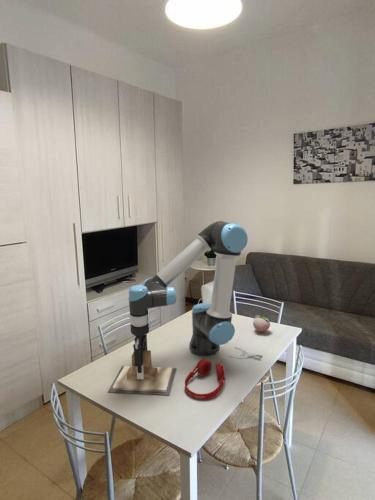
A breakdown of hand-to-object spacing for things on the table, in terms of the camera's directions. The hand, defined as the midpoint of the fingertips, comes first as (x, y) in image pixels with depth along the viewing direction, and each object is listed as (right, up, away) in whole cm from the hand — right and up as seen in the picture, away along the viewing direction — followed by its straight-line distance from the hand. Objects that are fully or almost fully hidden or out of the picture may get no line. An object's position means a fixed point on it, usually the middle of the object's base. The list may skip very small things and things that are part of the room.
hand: (142, 374), depth 139 cm
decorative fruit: (+60, +7, +42) cm, 74 cm away
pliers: (+47, +2, +19) cm, 51 cm away
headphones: (+27, -3, -4) cm, 27 cm away
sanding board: (+1, -3, +1) cm, 3 cm away
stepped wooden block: (0, -1, 0) cm, 1 cm away
